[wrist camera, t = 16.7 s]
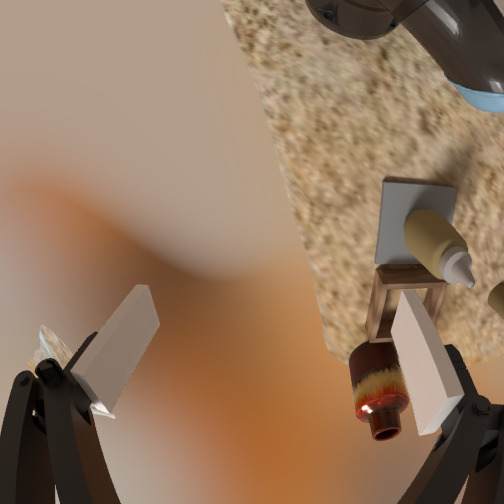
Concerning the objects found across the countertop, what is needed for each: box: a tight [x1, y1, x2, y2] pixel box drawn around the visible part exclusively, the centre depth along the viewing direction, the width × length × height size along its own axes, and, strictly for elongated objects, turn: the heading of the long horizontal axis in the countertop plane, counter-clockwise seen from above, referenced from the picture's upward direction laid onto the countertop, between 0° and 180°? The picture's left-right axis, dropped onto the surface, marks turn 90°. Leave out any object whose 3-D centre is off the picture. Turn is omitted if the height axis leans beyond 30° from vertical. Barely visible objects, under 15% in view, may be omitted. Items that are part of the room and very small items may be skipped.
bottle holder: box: [365, 268, 448, 343], centre depth 46 cm, size 13×13×5 cm
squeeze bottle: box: [404, 209, 475, 288], centre depth 33 cm, size 8×8×18 cm
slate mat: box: [374, 181, 457, 264], centre depth 41 cm, size 14×14×1 cm
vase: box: [349, 342, 409, 441], centre depth 47 cm, size 11×11×20 cm
